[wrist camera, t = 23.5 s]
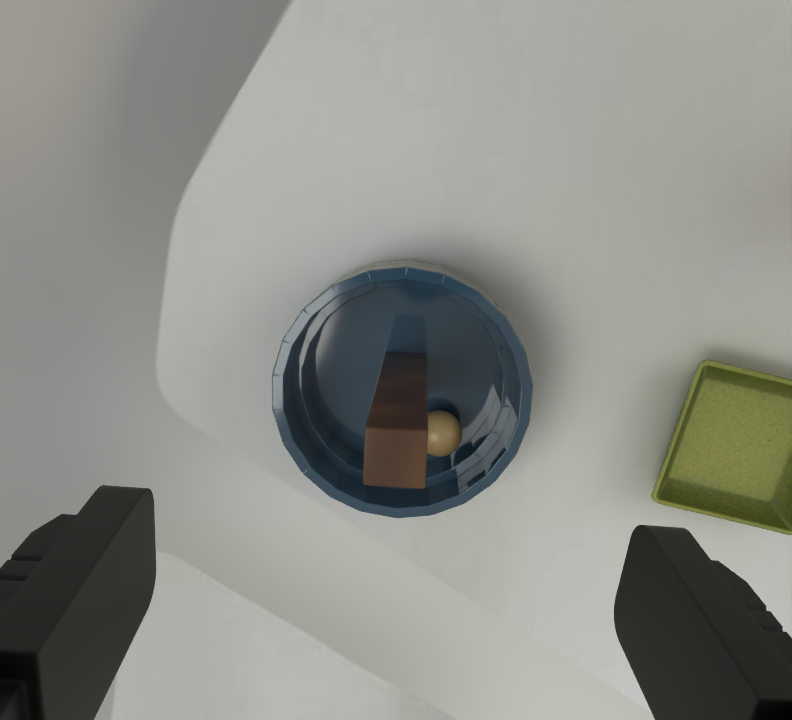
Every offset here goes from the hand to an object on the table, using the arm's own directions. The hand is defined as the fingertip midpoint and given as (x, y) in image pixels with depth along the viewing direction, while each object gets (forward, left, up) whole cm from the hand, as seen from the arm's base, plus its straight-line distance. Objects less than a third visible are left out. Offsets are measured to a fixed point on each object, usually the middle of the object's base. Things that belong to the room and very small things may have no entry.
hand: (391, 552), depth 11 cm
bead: (+5, -5, -25) cm, 26 cm away
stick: (+2, -3, -26) cm, 27 cm away
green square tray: (+20, +4, -27) cm, 34 cm away
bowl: (+2, -4, -27) cm, 27 cm away
